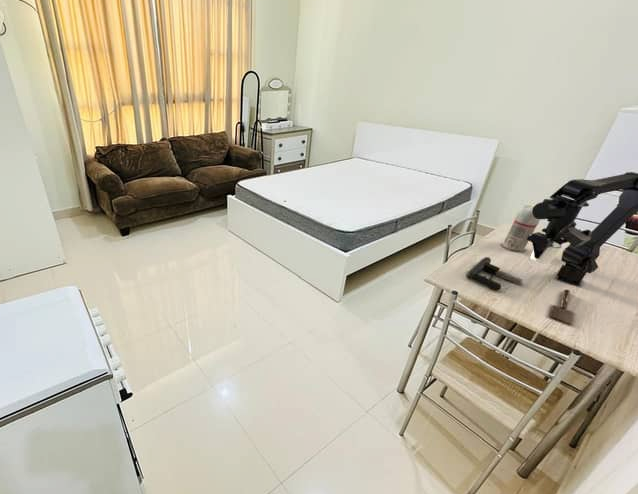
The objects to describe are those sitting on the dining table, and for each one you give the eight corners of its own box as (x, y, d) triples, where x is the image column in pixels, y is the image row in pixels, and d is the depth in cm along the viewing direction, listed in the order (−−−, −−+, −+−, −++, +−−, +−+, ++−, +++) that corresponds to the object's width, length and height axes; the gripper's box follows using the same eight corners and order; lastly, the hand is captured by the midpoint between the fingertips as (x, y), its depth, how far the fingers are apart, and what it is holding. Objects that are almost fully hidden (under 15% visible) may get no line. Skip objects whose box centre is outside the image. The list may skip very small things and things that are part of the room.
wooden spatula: (574, 295, 115) (577, 292, 115) (569, 324, 102) (572, 321, 101) (556, 289, 118) (558, 286, 118) (549, 317, 105) (552, 313, 104)
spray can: (528, 253, 142) (550, 211, 132) (507, 251, 143) (528, 210, 133) (518, 244, 149) (538, 204, 139) (498, 242, 151) (517, 202, 141)
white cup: (531, 262, 116) (540, 245, 113) (526, 253, 122) (534, 237, 118) (555, 266, 114) (565, 249, 110) (548, 257, 119) (558, 241, 116)
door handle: (528, 272, 124) (482, 254, 134) (512, 292, 113) (463, 270, 123) (523, 279, 126) (478, 260, 136) (507, 299, 115) (460, 277, 125)
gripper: (575, 231, 100) (551, 273, 108) (609, 222, 106) (584, 262, 113) (536, 218, 109) (516, 257, 117) (569, 210, 115) (548, 248, 122)
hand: (541, 256), depth 117 cm, fingers closed on white cup, 6 cm apart
